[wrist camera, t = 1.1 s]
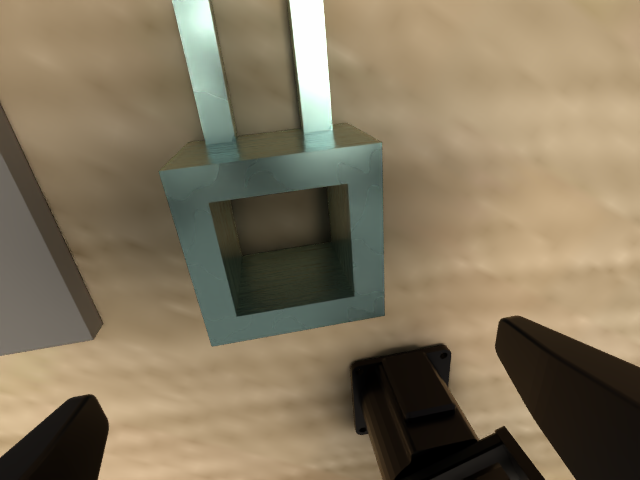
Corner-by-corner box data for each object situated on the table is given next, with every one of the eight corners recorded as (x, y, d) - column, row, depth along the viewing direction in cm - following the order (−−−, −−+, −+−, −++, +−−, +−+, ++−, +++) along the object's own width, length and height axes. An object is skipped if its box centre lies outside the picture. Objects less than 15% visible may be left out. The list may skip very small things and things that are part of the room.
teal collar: (354, 258, 19) (384, 315, 14) (223, 279, 18) (211, 346, 14) (339, -12, 14) (379, -54, 9) (152, 3, 13) (96, -34, 8)
